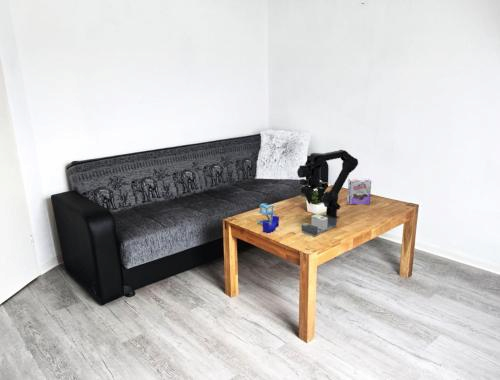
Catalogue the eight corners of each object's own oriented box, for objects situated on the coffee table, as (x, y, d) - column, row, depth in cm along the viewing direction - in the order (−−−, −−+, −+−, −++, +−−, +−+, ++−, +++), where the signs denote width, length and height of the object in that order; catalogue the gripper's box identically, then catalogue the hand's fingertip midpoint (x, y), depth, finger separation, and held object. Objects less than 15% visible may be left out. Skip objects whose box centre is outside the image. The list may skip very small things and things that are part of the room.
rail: (323, 222, 236) (323, 214, 234) (336, 226, 229) (336, 218, 228) (301, 232, 222) (301, 223, 221) (314, 236, 216) (314, 227, 215)
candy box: (348, 205, 265) (349, 180, 260) (346, 202, 271) (348, 178, 266) (369, 204, 265) (371, 180, 260) (367, 202, 270) (369, 178, 266)
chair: (276, 222, 237) (276, 203, 234) (266, 226, 231) (266, 206, 228) (267, 219, 242) (267, 200, 239) (256, 223, 237) (256, 203, 234)
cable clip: (269, 233, 222) (269, 223, 220) (262, 232, 224) (262, 222, 222) (281, 227, 231) (281, 217, 229) (274, 225, 233) (274, 215, 232)
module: (315, 224, 230) (316, 214, 228) (327, 228, 224) (327, 217, 222) (311, 226, 227) (311, 216, 225) (322, 230, 221) (323, 219, 220)
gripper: (313, 170, 242) (313, 195, 246) (293, 176, 230) (293, 202, 234) (329, 173, 234) (328, 199, 239) (309, 179, 222) (308, 206, 226)
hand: (314, 201), depth 235 cm, fingers open, 9 cm apart
